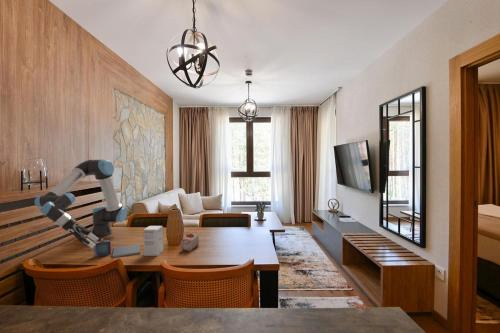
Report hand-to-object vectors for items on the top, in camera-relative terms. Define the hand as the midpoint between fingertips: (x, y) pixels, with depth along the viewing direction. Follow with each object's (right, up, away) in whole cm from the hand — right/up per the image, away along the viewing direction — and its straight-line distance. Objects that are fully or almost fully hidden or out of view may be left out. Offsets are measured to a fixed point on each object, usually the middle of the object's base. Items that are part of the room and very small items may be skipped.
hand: (95, 243), depth 163 cm
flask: (+3, -9, +3) cm, 9 cm away
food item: (+56, -8, +14) cm, 59 cm away
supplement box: (+35, -8, +5) cm, 36 cm away
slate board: (+15, -8, +9) cm, 20 cm away
